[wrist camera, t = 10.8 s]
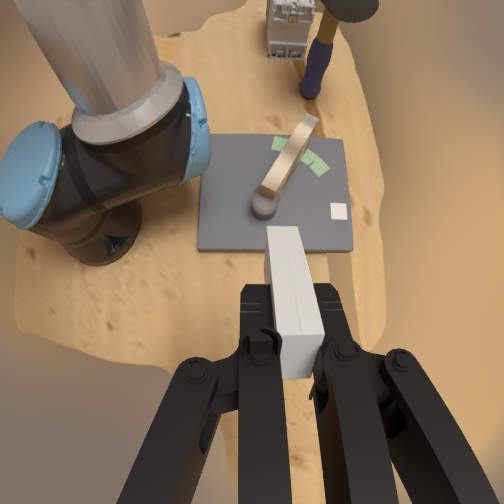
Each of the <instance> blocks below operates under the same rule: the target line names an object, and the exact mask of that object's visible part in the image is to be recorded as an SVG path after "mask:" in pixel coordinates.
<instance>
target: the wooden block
mask: <svg viewBox="0 0 504 504" xmlns="http://www.w3.org/2000/svg"><path fill="white" fill-rule="evenodd" d="M318 121H319V119H318V118H316V117H314V116H312V115H310V114H308V113H305V114H304V116H303V117H302V119H301V121H300V123H299V124H298V126H297V128H296V129H295V131H294V132H293V134H292V135H291V137H290V139H289V140H288V142H287V143H286V145H285V147H284V148H283V150H282V151H281V153H280V155H279V156H278V158H277V159H276V161H275V163H274V164H273V166H272V167H271V169H270V171H269V172H268V174H267V175H266V177H265V179H264V180H263V182H262V184H261V185H260V186H258V187H257V188H256V189H255V190H254V192H253V199H252V212H253V214H254V216H255V217H257V218H258V219H260V220H268V219H271V218H272V217H273V216H274V215H275V213H276V210H277V207H278V204H279V201H280V194H281V192H282V190H283V189H284V187H285V185H286V183H287V182H288V180H289V178H290V177H291V175H292V173H293V171H294V170H295V168H296V166H297V165H298V163H299V161H300V159H301V158H302V156H303V155H304V153H305V152H306V150H307V148H308V146H309V144H310V141H311V139H312V136H313V134H314V131H315V129H316V126H317V124H318Z"/></svg>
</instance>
